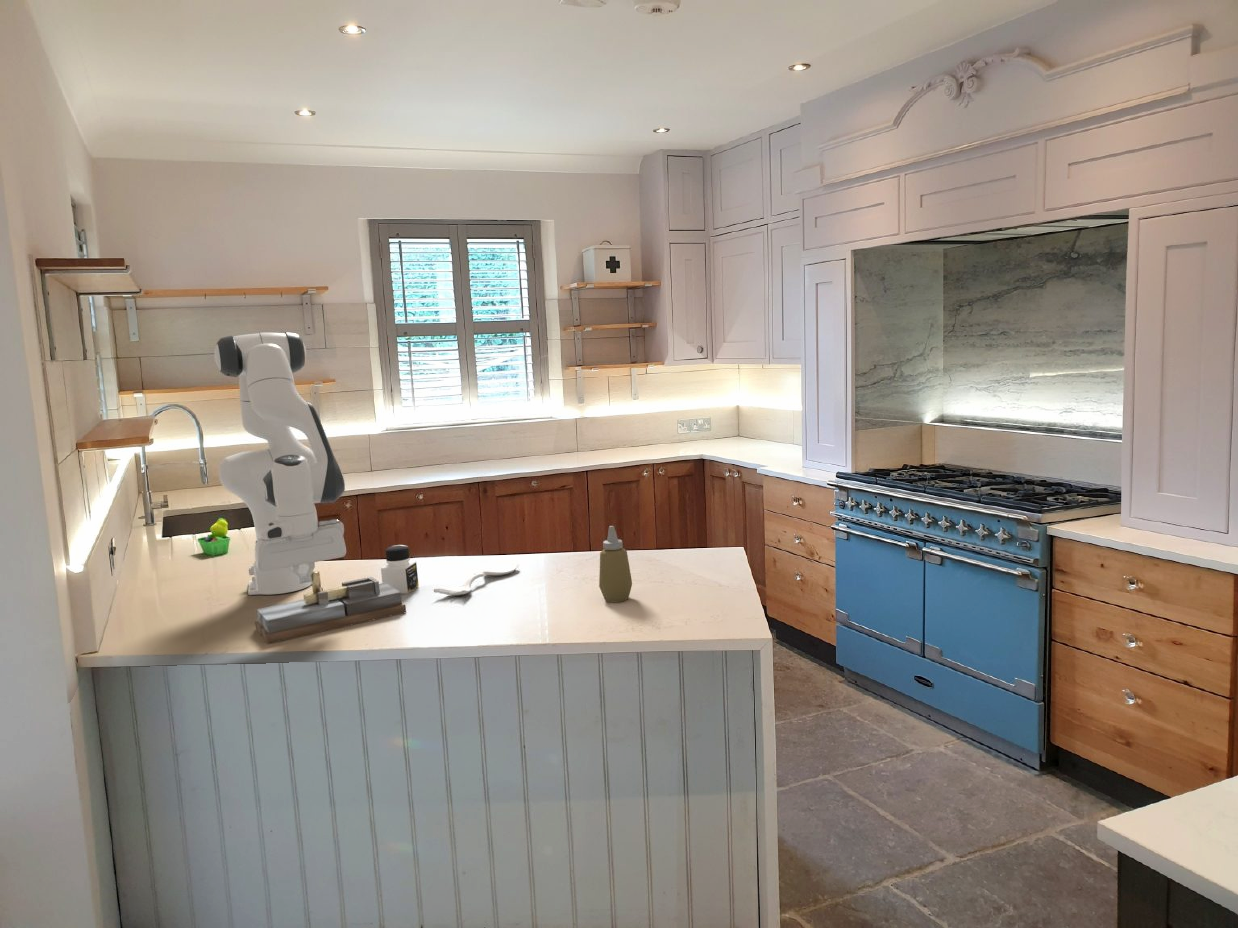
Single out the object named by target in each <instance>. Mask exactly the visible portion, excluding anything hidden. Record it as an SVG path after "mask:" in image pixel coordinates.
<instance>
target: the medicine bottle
mask: <svg viewBox="0 0 1238 928" xmlns="http://www.w3.org/2000/svg"><path fill="white" fill-rule="evenodd" d="M385 561H386V565H384V566H383V567H381V568H380V574H381V583H386V584H388V585H390V586H391V587H393V588H395V589H396V590H398V591H400V592H401V595H405V594H406V595H407V594H408V595H409V594H410V593H411V592H413V591H414V590H416V589H417V588H418V587H419V585H420V584H419V577H418V567H417V566H418V565H417V561H416V560H411V556H410V548H409V546H408V545H405V544H404V545H403V544H397V545H391V546H389V547H387V548H385ZM412 590H413V591H412Z"/></svg>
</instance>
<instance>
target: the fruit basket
mask: <svg viewBox="0 0 1238 928" xmlns="http://www.w3.org/2000/svg"><path fill="white" fill-rule="evenodd" d="M228 525H229V523H228V522H227V520H226V519H225V518H222V517H219V518H218V519H217V520H216V522H215V523H213V524H212V525H211V527H209V531H210V533H211V534H207V536H203V537H199V538H197V542H198V543H199V545H200V548H201V550H202V552H203V554H207V555H209V556H211V557H213V556H214V557H215V556H218V555H223V554H227V553H229V547H230V541H231V537H229V536H227V534H228V531H229V528H228Z"/></svg>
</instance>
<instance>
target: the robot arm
mask: <svg viewBox="0 0 1238 928" xmlns="http://www.w3.org/2000/svg"><path fill="white" fill-rule="evenodd" d="M213 354H214V361H215V364H216V366H217V368H218V369H219V372H220V373H221V374H223V375H224V376H226V377H230V378H238V377H239V380H238V382H239V384H238V385H239V386H238V389H239V402H240V411H241V418H242V421H241V422H242V427H243V429H244V430H245V431H246V432H247V433H248V434H250V435H252V436H254V437H257V438H260V439H263V440H265V441H267V442H268V443H267V444H268V446H269V447H268V448H266V449H260V450H258V449H257V450H250V451H241V452H238V453H235V454H232V455H229V456H225V457H224V458H223V459H222V460H221V462H220V464H219V467H218V474H217V475H218V479H219V482H220V484H221V485H222V486H223V488H224V489H225V490H227V491H228V492H230V493H232V494H234V495H235V496H237V497H238V498H240V499H241V500H242V502H244V504H245V505H246V506H247V508H248V509H249V511H250V514H251V516H252V520H253V525H254V530H255V536H256V541H255V545H254V563H253V564H252V566H249V567H248V575H249V576H252V577H251V579H249V580H248V589H247V593H248V594H247V595H249V596H253V595H254V596H255V595H269V596H270V595H281V594H286V593H287V594H288V593H292V592H297V591H300V590H303V589H305V588H308V587H310V586H312V580H311V574H312V572H314V571H315V570H314V569H315V568H316V564H315V563H318V562H323V561H329V560H334V559H338V558H339V559H340V558H344V557H345V556H346V554H347V547H346V542H345V539H344V533H345V527H344V523H343V522H342V521H340V520H338V519H336V518H332V519H330V520H329V519H328V520H320V521H319V520H318V515H317V514H318V512H317V508H316V505H315V504H319V503H320V504H327V503H328V504H329V503H335V502H336V501H337V500H338V499H340V497H342V495H343V494H344V493H345V491H346V482H345V477H344V474H343V471H342V470H341V468H340V466H339V463H338V461H337V460H336V457H335V455H334V452H333V450H332V447H331V444H330V443H329V440H328V437H327V434H326V432H325V429H324V427H323V425H322V422H321V420H320V417H319V415H318V413H317V411H316V409H315V407H314V405H313V404H312V403H311V402H308V401H306V400H305V399H303V397H302V396H301V395H300V394H299V392H298V390H297V387H296V384H295V378H294V375H293V374H294V373H296V372H299V371H300V370H301V369H302V368H304V366H305V365H306V364H305V363H306V360H307V347H306V345H305V343H304V341H303V338H302V337H301V336H300V335H299V334H298V333H294V332H288V331H287V332H286V331H285V332H284V333H283V332H272V331H271V332H264V331H263V332H257V333H249V334H241V335H235V336H233V335H227V336H224V337H220V338H219V340H218V341H217V342H216V346H215V348H214V353H213ZM290 428H294V429H296V430H298V431H300V432H301V433H303V434H304V435H305V436H306V438H307V440H308V443H309V445H310V448H309V447H308V446H306V445H304V444H303V443H302V442H300V441H299V440H298V439H297V438H296V437H295V435H294V434H293V432H292V430H291V429H290Z"/></svg>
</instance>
